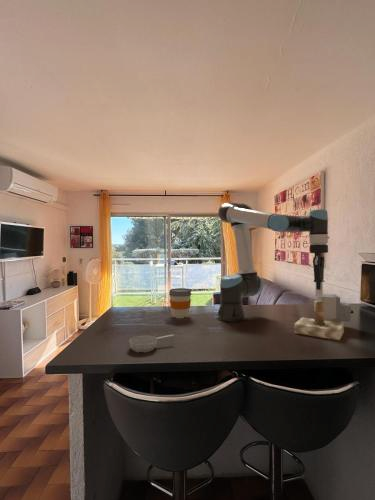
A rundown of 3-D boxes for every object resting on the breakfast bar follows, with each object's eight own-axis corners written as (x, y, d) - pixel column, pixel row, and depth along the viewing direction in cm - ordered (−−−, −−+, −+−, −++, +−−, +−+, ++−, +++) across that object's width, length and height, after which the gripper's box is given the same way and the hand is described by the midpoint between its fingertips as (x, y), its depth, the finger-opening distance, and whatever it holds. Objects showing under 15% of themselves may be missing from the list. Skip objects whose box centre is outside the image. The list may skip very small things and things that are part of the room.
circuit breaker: (354, 330, 129) (354, 297, 129) (321, 328, 132) (321, 296, 132) (349, 325, 136) (349, 294, 136) (317, 323, 140) (317, 294, 139)
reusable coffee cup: (195, 315, 160) (195, 289, 160) (183, 320, 150) (183, 292, 149) (177, 312, 167) (177, 287, 167) (164, 317, 156) (164, 290, 156)
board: (294, 332, 126) (294, 323, 126) (302, 325, 137) (302, 317, 137) (339, 340, 115) (339, 330, 115) (343, 331, 127) (343, 322, 126)
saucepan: (127, 346, 112) (126, 336, 112) (169, 339, 119) (169, 330, 119) (132, 356, 102) (132, 345, 102) (178, 348, 109) (178, 338, 109)
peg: (313, 332, 126) (313, 301, 126) (315, 330, 129) (315, 300, 129) (323, 334, 123) (323, 302, 123) (325, 331, 127) (324, 301, 126)
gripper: (325, 244, 118) (325, 299, 118) (330, 244, 129) (330, 295, 129) (306, 244, 123) (306, 297, 123) (313, 244, 133) (313, 293, 133)
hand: (319, 296), depth 126 cm, fingers closed
